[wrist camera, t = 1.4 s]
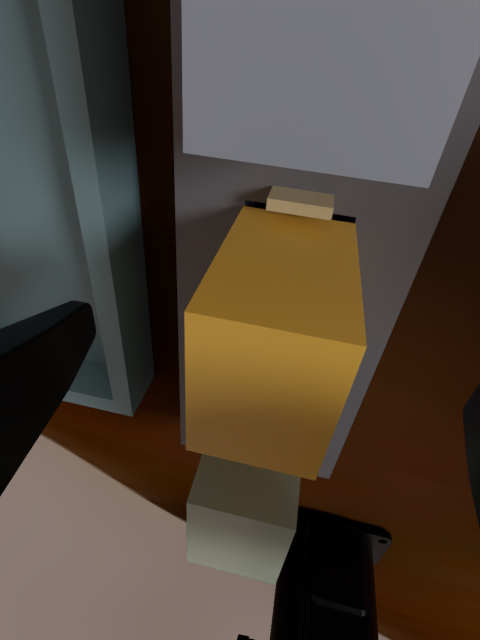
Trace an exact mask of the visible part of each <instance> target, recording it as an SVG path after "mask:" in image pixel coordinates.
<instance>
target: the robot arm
mask: <svg viewBox="0 0 480 640" xmlns="http://www.w3.org/2000/svg"><path fill="white" fill-rule="evenodd" d="M95 336H96V325H95V320H94V315H93V310H92V307H91V305H90V304H89V303H87V302H82V301H77V300H72V301H69V302H66V303H64V304H61V305H59V306H56V307H54V308H51V309H49V310H46V311H44V312H41V313H38V314H36V315H33V316H31V317H28V318H26V319H23V320H21V321H18V322H16V323H13V324H11V325H8V326H6V327H3V328H0V496H1V494H2V493H3V491H4V490H5V488H6V487H7V485H8V484H9V482H10V481H11V479H12V477H13V476H14V474H15V473H16V471H17V470H18V468H19V466H20V465H21V464H22V462H23V460H24V459H25V457H26V456H27V454H28V453H29V451H30V450H31V448H32V447H33V445H34V443H35V442H36V440H37V439H38V437H39V436H40V434H41V433H42V431H43V430H44V428H45V426H46V425H47V423H48V422H49V420H50V419H51V417H52V416H53V414H54V413H55V411H56V409H57V408H58V406H59V405H60V403H61V402H62V400H63V399H64V397H65V395H66V394H67V392H68V391H69V389H70V387H71V385H72V383H73V381H74V379H75V377H76V375H77V373H78V371H79V369H80V367H81V365H82V363H83V361H84V359H85V357H86V355H87V353H88V351H89V349H90V347H91V345H92V343H93V341H94V339H95ZM463 423H464V433H465V444H466V454H467V464H468V473H469V481H470V486H471V491H472V496H473V500H474V505H475V509H476V514H477V518H478V523H479V528H480V384H479V385H478V386H477V388H476V389H475V391H474V392H473V394H472V395H471V397H470V398H469V400H468V401H467V403H466V404H465V406H464V409H463ZM391 544H392V537H391V534H390V533H389V532H387V531H384V530H380V529H376V528H372V527H368V526H363V525H359V524H355V523H351V522H347V521H343V520H339V519H335V518H331V517H327V516H323V515H319V514H315V513H311V512H307V511H302V510H298V514H297V526H296V532H295V535H294V537H293V540H292V542H291V545H290V548H289V550H288V553H287V555H286V558H285V561H284V563H283V566H282V568H281V571H280V574H279V576H278V579H277V581H276V590H275V598H274V607H273V616H272V625H271V634H270V640H378V626H377V611H376V596H375V581H374V566H375V565H376V563H377V562H378V561H379V560H380V558H381V557H382V556H383V554H384V553H385V552H386V550H387V549H388V548H389V547H390V545H391ZM237 640H254V639H250V638H249V636H245V635H240V634H239V635H238V638H237Z"/></svg>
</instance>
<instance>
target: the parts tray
mask: <svg viewBox="0 0 480 640" xmlns="http://www.w3.org/2000/svg"><path fill="white" fill-rule="evenodd" d="M72 300H77V301H82V302H87V303H89V304H90V305H91V307H92V310H93V315H94V320H95V325H96V336H95V339H94V341H93V343H92V345H91V347H90V349H89V351H88V353H87V355H86V357H85V359H84V361H83V363H82V365H81V367H80V369H79V371H78V373H77V375H76V377H75V379H74V381H73V383H72V385H71V387H70V389H69V391H68V392H67V394H66V395H65V397H64V399H63V400H62V401H67V402H71V403H75V404H80V405H84V406H88V407H93V408H97V409H101V410H106V411H110V412H115V413H119V414H123V415H128V416H132V417H133V415H134V413H135V412H136V410H137V408H138V406H139V404H140V402H141V400H142V399H143V397H144V395H145V393H146V391H147V389H148V387H149V386H150V384H151V382H152V380H153V378H154V364H153V352H152V340H151V328H150V315H149V303H148V291H147V279H146V267H145V255H144V242H143V230H142V218H141V206H140V194H139V182H138V169H137V157H136V145H135V133H134V121H133V109H132V96H131V84H130V72H129V60H128V48H127V36H126V23H125V11H124V0H0V328H3V327H6V326H8V325H11V324H13V323H16V322H18V321H21V320H23V319H26V318H28V317H31V316H33V315H36V314H38V313H41V312H44V311H46V310H49V309H51V308H54V307H56V306H59V305H61V304H64V303H66V302H69V301H72Z"/></svg>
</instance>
